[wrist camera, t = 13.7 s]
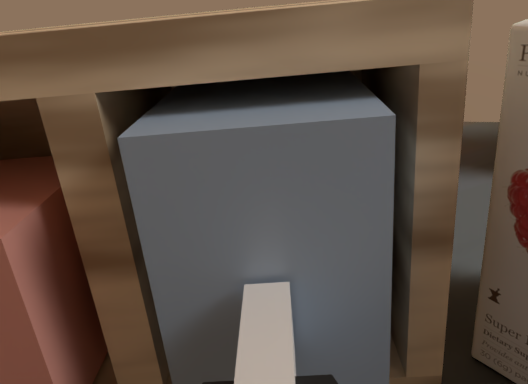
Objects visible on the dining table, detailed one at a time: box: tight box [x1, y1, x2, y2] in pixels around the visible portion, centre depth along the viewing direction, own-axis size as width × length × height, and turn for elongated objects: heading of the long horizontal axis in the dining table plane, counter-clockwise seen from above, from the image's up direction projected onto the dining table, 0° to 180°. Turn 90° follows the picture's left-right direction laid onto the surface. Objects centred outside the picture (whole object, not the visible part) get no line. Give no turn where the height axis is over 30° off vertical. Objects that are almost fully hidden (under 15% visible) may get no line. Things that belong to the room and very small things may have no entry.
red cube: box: [0, 156, 108, 384], centre depth 21 cm, size 9×8×9 cm
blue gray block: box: [117, 71, 396, 384], centre depth 19 cm, size 9×8×12 cm
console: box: [0, 0, 473, 384], centre depth 23 cm, size 12×26×16 cm, turn 89°
